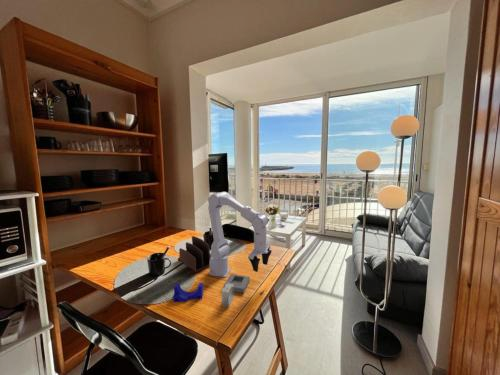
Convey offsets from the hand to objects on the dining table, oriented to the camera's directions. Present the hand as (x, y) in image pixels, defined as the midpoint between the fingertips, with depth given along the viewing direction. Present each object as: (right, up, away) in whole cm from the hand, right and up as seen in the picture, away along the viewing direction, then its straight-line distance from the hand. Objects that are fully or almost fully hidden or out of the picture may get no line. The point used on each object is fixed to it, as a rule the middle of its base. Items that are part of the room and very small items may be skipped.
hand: (260, 267), depth 99 cm
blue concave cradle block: (-32, -11, -7) cm, 35 cm away
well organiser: (-11, -10, +2) cm, 15 cm away
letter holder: (-38, -7, +25) cm, 46 cm away
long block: (-14, -11, -10) cm, 21 cm away
